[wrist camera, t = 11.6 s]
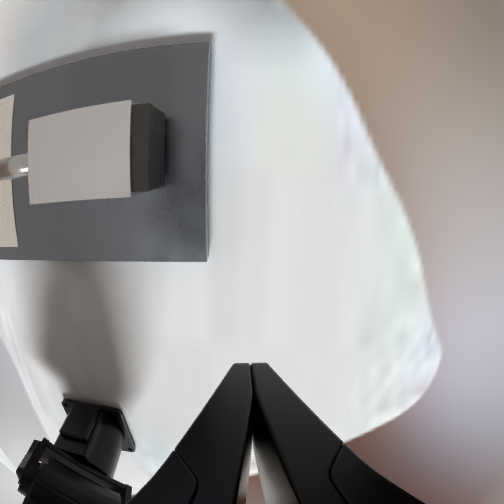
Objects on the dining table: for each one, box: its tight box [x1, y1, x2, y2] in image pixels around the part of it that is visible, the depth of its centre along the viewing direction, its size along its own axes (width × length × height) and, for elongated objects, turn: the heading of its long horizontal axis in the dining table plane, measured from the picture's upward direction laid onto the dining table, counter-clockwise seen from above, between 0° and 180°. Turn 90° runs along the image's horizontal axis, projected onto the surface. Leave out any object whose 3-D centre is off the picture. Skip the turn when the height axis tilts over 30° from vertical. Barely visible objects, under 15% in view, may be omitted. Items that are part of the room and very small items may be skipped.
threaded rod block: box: [0, 100, 165, 205], centre depth 13 cm, size 4×11×4 cm, turn 89°
